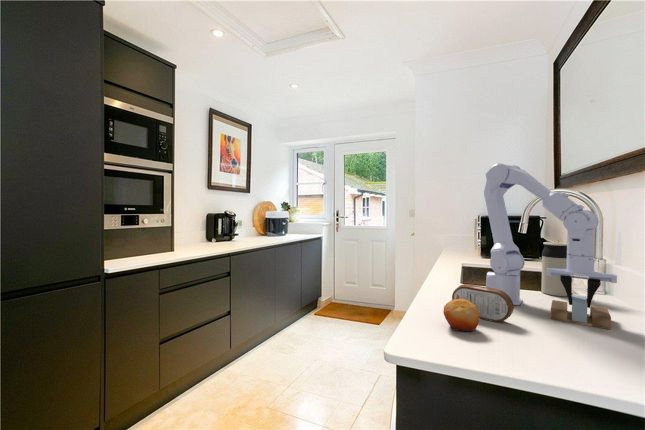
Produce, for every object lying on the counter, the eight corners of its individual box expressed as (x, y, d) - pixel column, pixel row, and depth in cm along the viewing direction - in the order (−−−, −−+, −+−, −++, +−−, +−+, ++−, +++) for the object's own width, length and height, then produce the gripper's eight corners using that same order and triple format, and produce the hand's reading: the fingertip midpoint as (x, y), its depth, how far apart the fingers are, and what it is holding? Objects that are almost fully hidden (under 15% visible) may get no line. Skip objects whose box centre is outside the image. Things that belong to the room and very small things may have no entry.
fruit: (475, 317, 82) (478, 294, 78) (479, 343, 75) (482, 319, 71) (442, 313, 84) (443, 291, 80) (443, 338, 78) (444, 315, 74)
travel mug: (560, 297, 107) (561, 244, 106) (536, 292, 114) (537, 242, 114) (574, 295, 110) (575, 243, 110) (550, 290, 117) (551, 241, 117)
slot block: (550, 318, 85) (550, 307, 85) (552, 310, 93) (552, 299, 93) (610, 329, 78) (611, 317, 78) (606, 318, 86) (607, 307, 86)
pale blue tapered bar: (572, 320, 82) (572, 301, 82) (571, 312, 90) (572, 294, 90) (587, 323, 81) (587, 303, 81) (585, 314, 88) (585, 296, 88)
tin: (513, 323, 82) (514, 290, 82) (510, 326, 79) (511, 293, 79) (454, 310, 92) (454, 281, 92) (450, 312, 90) (450, 283, 90)
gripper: (546, 254, 86) (545, 303, 87) (618, 259, 78) (617, 314, 78) (547, 251, 92) (546, 298, 92) (615, 256, 83) (614, 308, 83)
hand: (579, 305), depth 85 cm, fingers closed on pale blue tapered bar, 3 cm apart
